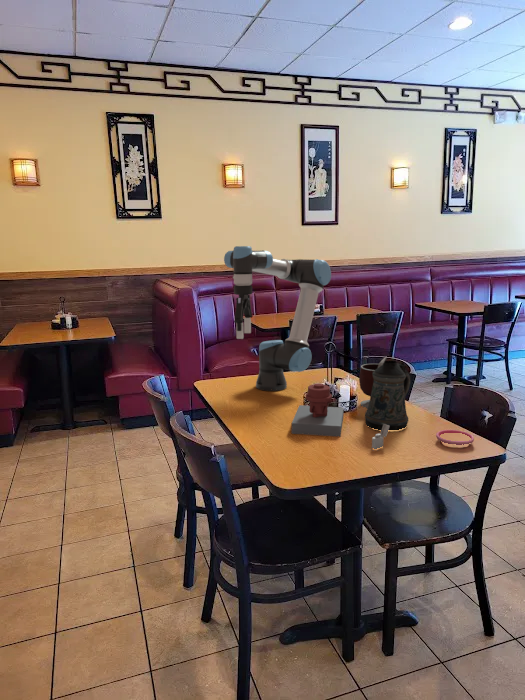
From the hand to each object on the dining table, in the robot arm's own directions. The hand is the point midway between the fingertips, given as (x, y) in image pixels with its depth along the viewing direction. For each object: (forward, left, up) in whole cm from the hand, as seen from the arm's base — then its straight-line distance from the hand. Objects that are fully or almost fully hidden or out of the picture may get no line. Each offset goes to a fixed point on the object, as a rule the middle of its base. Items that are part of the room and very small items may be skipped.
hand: (243, 335), depth 214 cm
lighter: (+34, +56, -32) cm, 73 cm away
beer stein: (+9, +59, -32) cm, 68 cm away
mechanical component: (+15, +33, -28) cm, 46 cm away
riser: (+15, +33, -32) cm, 48 cm away
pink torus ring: (+25, +82, -32) cm, 91 cm away
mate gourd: (-15, +55, -32) cm, 65 cm away
